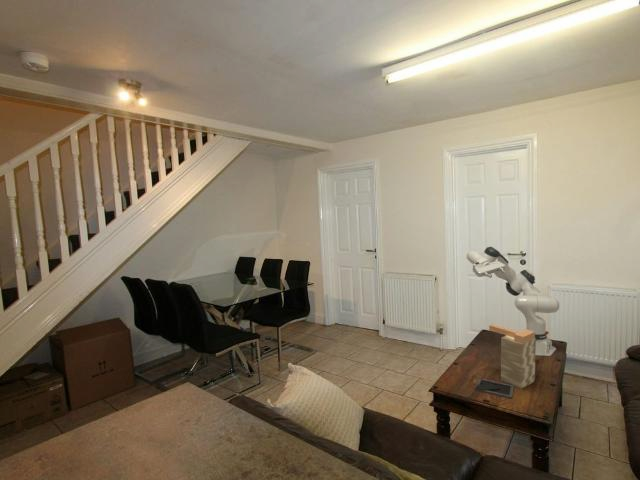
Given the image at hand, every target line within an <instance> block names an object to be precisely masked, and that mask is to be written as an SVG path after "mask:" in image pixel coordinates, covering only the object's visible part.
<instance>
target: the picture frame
mask: <svg viewBox="0 0 640 480" xmlns="http://www.w3.org/2000/svg"><path fill="white" fill-rule="evenodd" d="M514 389H515V386H514V385H511V384H509V383H506V382H505V383H503V382H501V381H500V382H499V381H494V380H491V379H486V378H480V377H479V378H478V380H477V383H476V385H475V391H476V392H481V393H485V394H489V395H493V396H498V397H502V398H506V399H511V400H513V395H514Z"/></svg>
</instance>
